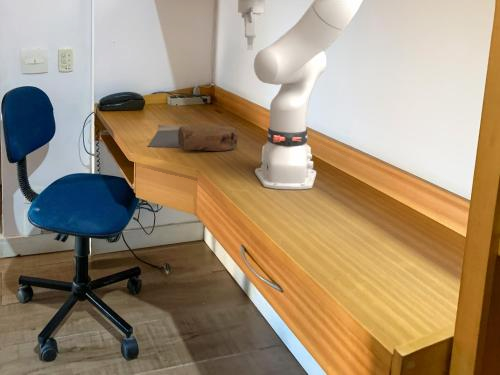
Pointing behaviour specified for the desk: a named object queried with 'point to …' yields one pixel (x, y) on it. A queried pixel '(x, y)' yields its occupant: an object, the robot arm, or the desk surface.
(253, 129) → the desk surface
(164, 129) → the stop strip
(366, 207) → the desk surface
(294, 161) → the robot arm
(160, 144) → the mat
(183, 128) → the block
